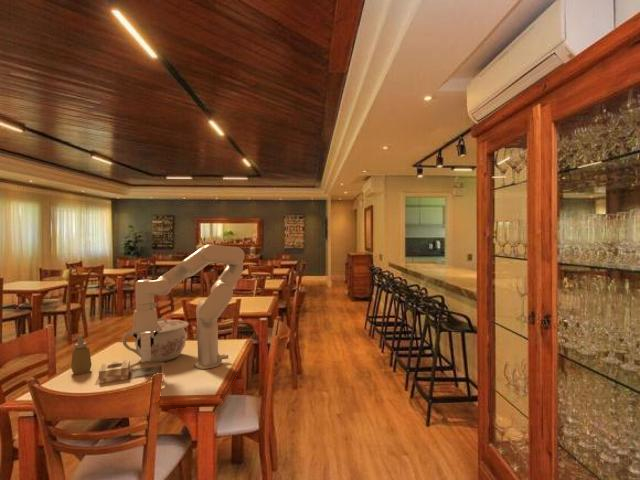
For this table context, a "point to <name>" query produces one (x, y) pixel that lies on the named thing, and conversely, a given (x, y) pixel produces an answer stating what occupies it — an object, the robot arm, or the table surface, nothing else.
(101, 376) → the socket board
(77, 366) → the squeeze bottle
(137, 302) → the robot arm
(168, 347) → the chamber pot
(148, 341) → the steel peg
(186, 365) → the table surface
